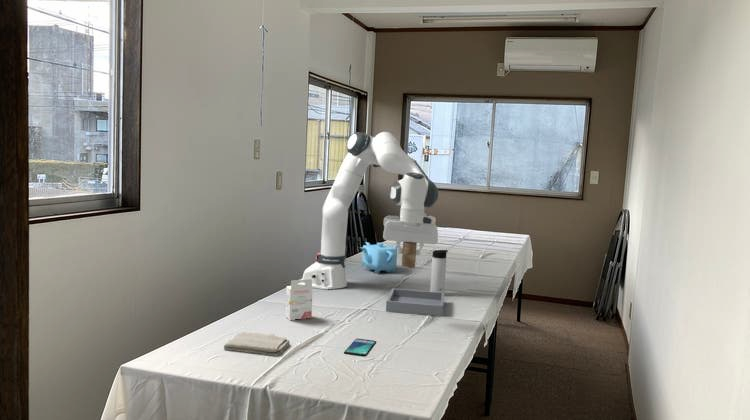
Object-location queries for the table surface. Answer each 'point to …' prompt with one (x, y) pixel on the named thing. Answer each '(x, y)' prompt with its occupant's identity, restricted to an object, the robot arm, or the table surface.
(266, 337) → the washcloth
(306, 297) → the ink cartridge box
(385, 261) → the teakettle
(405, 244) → the tan rounded cylinder
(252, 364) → the table surface
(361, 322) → the table surface
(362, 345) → the smartphone
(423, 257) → the table surface
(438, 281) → the travel mug
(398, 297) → the tray
